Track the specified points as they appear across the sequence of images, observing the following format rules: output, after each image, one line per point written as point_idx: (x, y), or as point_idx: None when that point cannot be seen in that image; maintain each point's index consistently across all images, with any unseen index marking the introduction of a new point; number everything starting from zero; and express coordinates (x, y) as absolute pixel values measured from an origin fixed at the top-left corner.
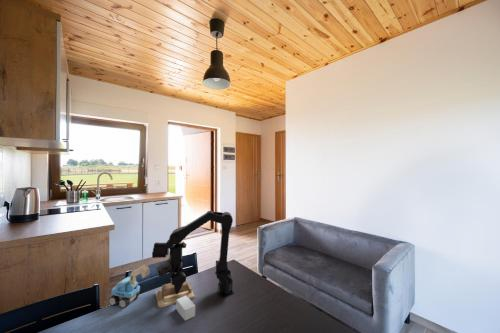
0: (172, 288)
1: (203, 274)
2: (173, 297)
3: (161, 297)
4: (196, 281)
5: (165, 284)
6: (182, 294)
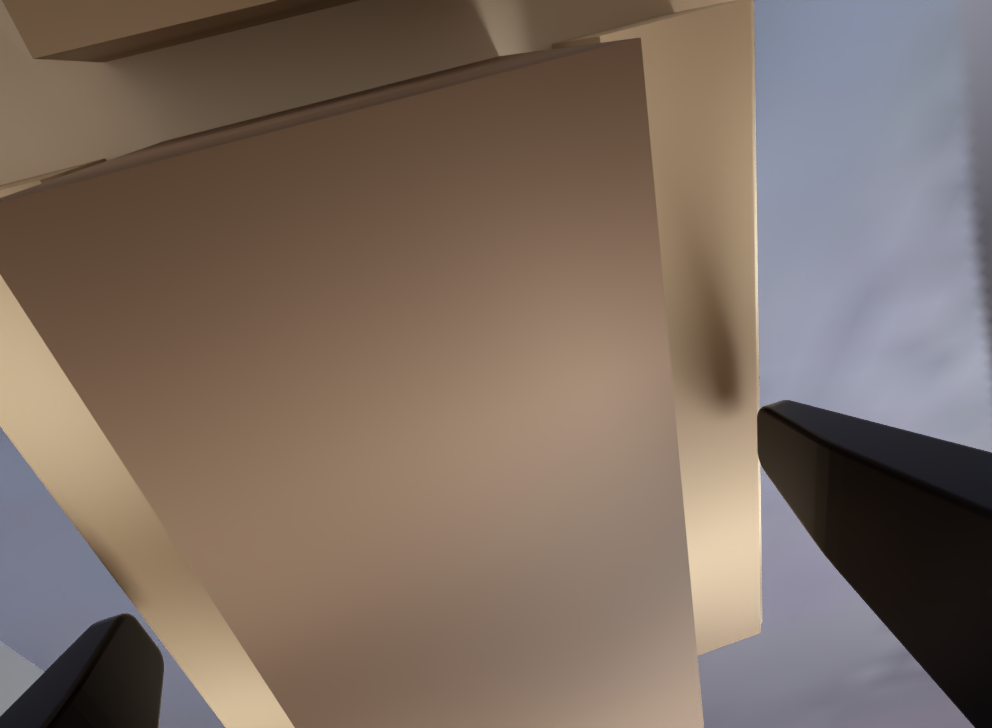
0: (238, 596)
1: (951, 715)
2: (90, 502)
3: (302, 56)
4: (810, 671)
5: (630, 239)
6: (218, 696)
